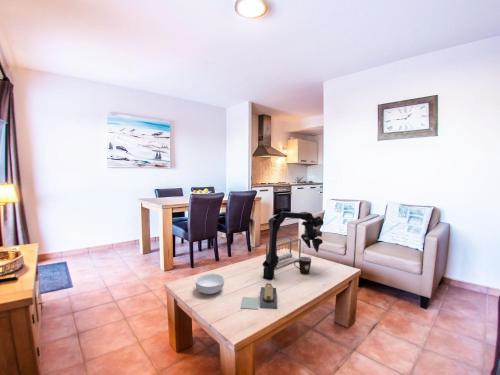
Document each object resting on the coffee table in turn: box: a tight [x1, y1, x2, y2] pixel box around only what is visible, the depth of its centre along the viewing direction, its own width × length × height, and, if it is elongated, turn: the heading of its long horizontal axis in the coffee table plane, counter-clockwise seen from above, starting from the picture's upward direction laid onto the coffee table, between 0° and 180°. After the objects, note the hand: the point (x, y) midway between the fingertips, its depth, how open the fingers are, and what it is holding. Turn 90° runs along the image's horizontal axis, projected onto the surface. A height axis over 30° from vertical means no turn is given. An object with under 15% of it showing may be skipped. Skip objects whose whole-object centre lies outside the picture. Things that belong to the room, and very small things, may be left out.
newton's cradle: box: [265, 235, 302, 270], centre depth 193 cm, size 30×10×18 cm, turn 133°
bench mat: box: [240, 296, 260, 310], centre depth 134 cm, size 11×9×1 cm
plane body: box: [259, 282, 278, 309], centre depth 139 cm, size 18×9×6 cm, turn 176°
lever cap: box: [264, 285, 274, 302], centre depth 133 cm, size 3×4×10 cm, turn 86°
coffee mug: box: [293, 256, 312, 276], centre depth 175 cm, size 12×9×10 cm
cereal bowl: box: [195, 273, 225, 295], centre depth 147 cm, size 17×17×7 cm
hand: (313, 249), depth 177 cm, fingers open, 9 cm apart
